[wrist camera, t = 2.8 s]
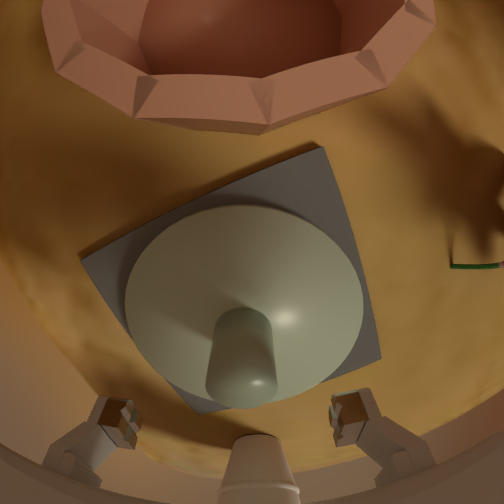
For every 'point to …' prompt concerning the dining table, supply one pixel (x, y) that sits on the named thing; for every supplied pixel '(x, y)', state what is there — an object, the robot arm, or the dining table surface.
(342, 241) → the mat
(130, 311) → the lid
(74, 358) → the dining table surface
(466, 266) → the lily
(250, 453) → the soft serve ice cream cone
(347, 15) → the bowl
